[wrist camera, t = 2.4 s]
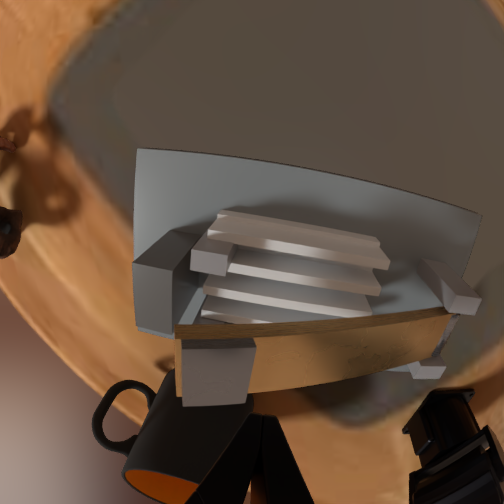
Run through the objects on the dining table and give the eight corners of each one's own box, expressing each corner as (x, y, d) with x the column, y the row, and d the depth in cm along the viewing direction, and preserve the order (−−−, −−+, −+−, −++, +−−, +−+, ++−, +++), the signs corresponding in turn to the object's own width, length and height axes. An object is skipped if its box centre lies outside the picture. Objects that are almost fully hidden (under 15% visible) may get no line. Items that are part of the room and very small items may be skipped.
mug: (133, 329, 22) (68, 423, 12) (269, 386, 23) (258, 498, 13) (122, 385, 25) (77, 464, 15) (234, 431, 26) (216, 520, 16)
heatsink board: (474, 211, 16) (528, 241, 10) (412, 364, 20) (435, 417, 15) (144, 147, 17) (87, 155, 11) (143, 323, 21) (108, 373, 16)
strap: (451, 302, 14) (467, 316, 13) (430, 344, 15) (445, 358, 14) (174, 320, 10) (175, 349, 9) (175, 378, 11) (177, 406, 10)
